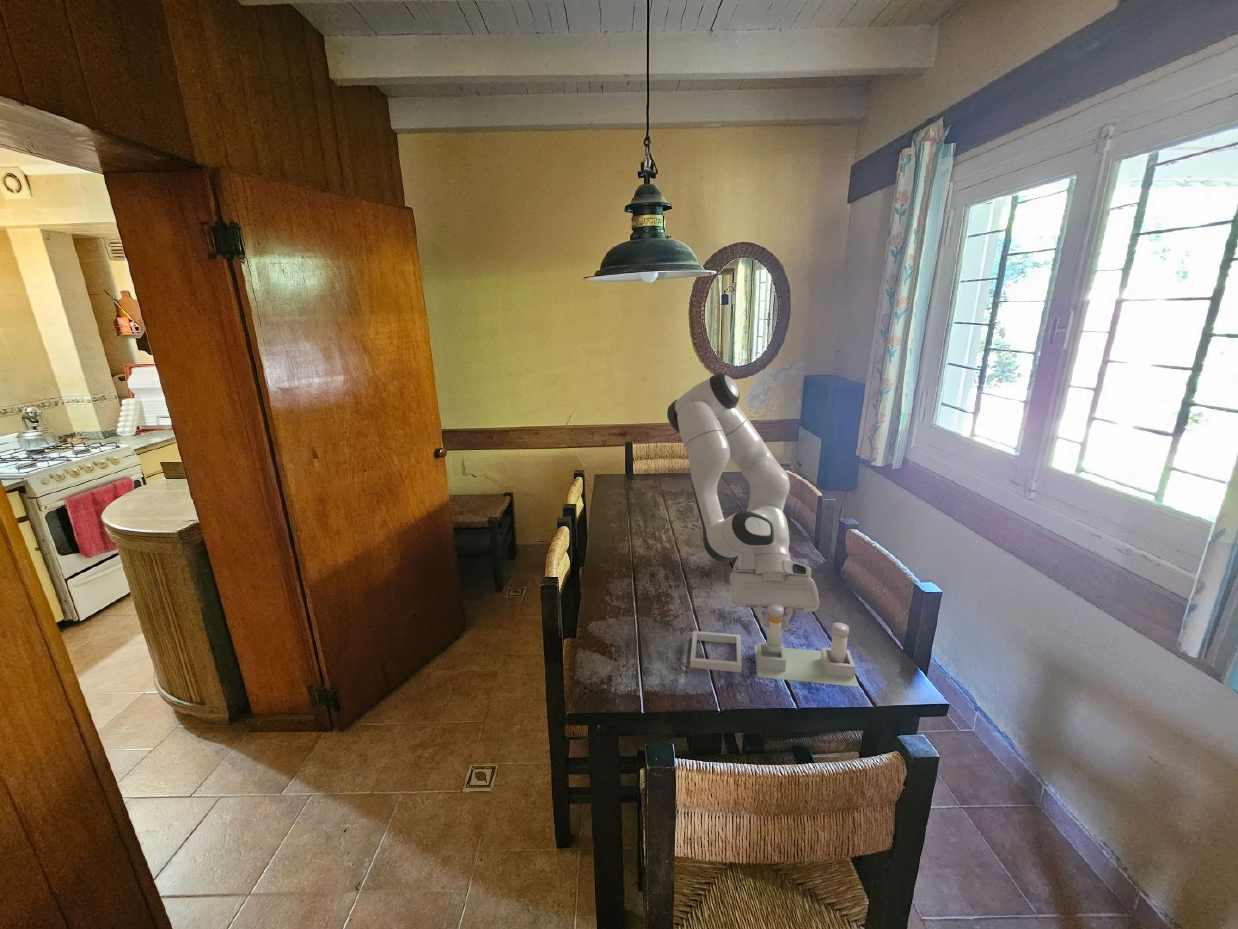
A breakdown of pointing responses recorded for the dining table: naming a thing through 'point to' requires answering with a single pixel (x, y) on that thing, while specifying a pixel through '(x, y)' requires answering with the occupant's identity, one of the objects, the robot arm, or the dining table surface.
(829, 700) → the dining table surface
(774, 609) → the orange-banded cylinder plug
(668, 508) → the dining table surface
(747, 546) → the robot arm
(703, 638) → the parts tray
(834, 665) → the fuse board
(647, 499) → the dining table surface
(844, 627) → the peg
